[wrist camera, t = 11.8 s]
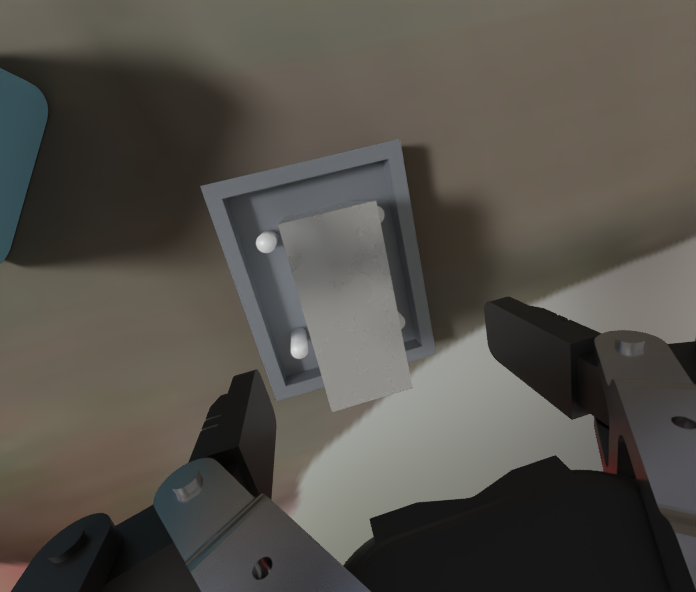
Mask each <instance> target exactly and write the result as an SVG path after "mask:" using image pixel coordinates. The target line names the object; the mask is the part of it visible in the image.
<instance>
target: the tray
mask: <svg viewBox="0 0 696 592" xmlns="http://www.w3.org/2000/svg"><path fill="white" fill-rule="evenodd" d="M200 187H201V190H202V193H203V196H204V199H205V201H206V204H207V207H208V210H209V213H210V215H211V218H212V221H213V224H214V227H215V229H216V232H217V235H218V238H219V241H220V244H221V246H222V249H223V252H224V255H225V258H226V260H227V263H228V266H229V269H230V272H231V274H232V277H233V280H234V283H235V286H236V289H237V291H238V294H239V297H240V300H241V303H242V305H243V308H244V311H245V314H246V317H247V319H248V322H249V325H250V328H251V331H252V334H253V336H254V339H255V342H256V345H257V348H258V350H259V353H260V356H261V359H262V362H263V364H264V367H265V370H266V373H267V376H268V378H269V381H270V384H271V387H272V390H273V393H274V395H275V398H276V401H279V400H283V399H286V398H289V397H293V396H296V395H299V394H303V393H306V392H309V391H313V390H316V389H319V388H323V387H325V386H324V383H323V379H322V376H321V372H320V369H319V365H318V362H317V358H316V355H315V351H314V348H313V345H312V341H311V338H310V334H309V331H308V327H307V324H306V320H305V317H304V313H303V310H302V306H301V303H300V300H299V296H298V293H297V289H296V286H295V282H294V279H293V275H292V272H291V268H290V265H289V261H288V258H287V255H286V251H285V248H284V244H283V241H282V237H281V234H280V230H279V227H278V223H279V222H280V221H281V219H282V218H283V217H284V216H287V215H291V214H295V213H299V212H304V211H308V210H312V209H316V208H320V207H324V206H328V205H332V204H337V203H341V202H345V201H372V200H376V202H377V207H378V213H379V218H380V223H381V228H382V233H383V238H384V244H385V249H386V254H387V259H388V264H389V269H390V275H391V280H392V285H393V290H394V295H395V301H396V306H397V311H398V316H399V321H400V326H401V332H402V337H403V342H404V347H405V352H406V357H407V362H410V361H413V360H417V359H420V358H423V357H427V356H430V355H434V354H436V350H435V344H434V338H433V332H432V326H431V320H430V314H429V308H428V302H427V296H426V290H425V284H424V278H423V273H422V267H421V261H420V255H419V249H418V243H417V237H416V231H415V225H414V219H413V213H412V207H411V201H410V195H409V189H408V183H407V178H406V172H405V166H404V160H403V154H402V148H401V142H400V139H398V140H393V141H389V142H385V143H381V144H376V145H372V146H368V147H364V148H359V149H355V150H351V151H347V152H343V153H338V154H334V155H330V156H326V157H321V158H317V159H313V160H309V161H305V162H300V163H296V164H292V165H288V166H283V167H279V168H275V169H271V170H266V171H262V172H258V173H254V174H250V175H245V176H241V177H237V178H233V179H228V180H224V181H220V182H216V183H212V184H207V185H203V186H200Z"/></svg>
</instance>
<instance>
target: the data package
mask: <svg viewBox="0 0 696 592" xmlns="http://www.w3.org/2000/svg"><path fill="white" fill-rule="evenodd" d="M47 118H48V105H47V101H46V99H45V97H44V95H43V93H42V92H41V91H40V90H39V88H37V87H36V86H35V85H33V84H32V83H30V82H28V81H26V80H24V79H22V78H20V77H18V76H16V75H14V74H11V73H9V72H7V71H5V70H3V69H1V68H0V264H1V263H2V262H3V261H4V259H5V258H6V257H7V255H8V253H9V251H10V248H11V245H12V242H13V238H14V235H15V231H16V227H17V224H18V220H19V217H20V213H21V210H22V206H23V203H24V199H25V196H26V192H27V189H28V185H29V182H30V178H31V175H32V171H33V168H34V164H35V161H36V157H37V154H38V150H39V147H40V143H41V140H42V136H43V133H44V129H45V126H46V122H47Z"/></svg>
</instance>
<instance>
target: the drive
mask: <svg viewBox="0 0 696 592" xmlns="http://www.w3.org/2000/svg"><path fill="white" fill-rule="evenodd" d="M278 227H279V230H280V234H281V237H282V241H283V244H284V248H285V251H286V255H287V258H288V261H289V265H290V268H291V272H292V275H293V279H294V282H295V286H296V289H297V293H298V296H299V300H300V303H301V306H302V310H303V313H304V317H305V320H306V324H307V327H308V331H309V334H310V338H311V341H312V345H313V348H314V351H315V355H316V358H317V362H318V365H319V369H320V372H321V376H322V379H323V383H324V386H325V389H326V393H327V396H328V400H329V403H330V407H331V410H332V412H334V411H338V410H341V409H344V408H348V407H351V406H354V405H358V404H361V403H364V402H368V401H371V400H374V399H378V398H381V397H384V396H388V395H391V394H394V393H398V392H401V391H404V390H408V389H411V388H412V383H411V378H410V373H409V368H408V363H407V357H406V352H405V347H404V342H403V337H402V332H401V326H400V321H399V316H398V311H397V306H396V301H395V295H394V290H393V285H392V280H391V275H390V269H389V264H388V259H387V254H386V249H385V244H384V238H383V233H382V228H381V223H380V218H379V213H378V207H377V202H376V200H372V201H345V202H341V203H337V204H332V205H328V206H324V207H320V208H316V209H312V210H308V211H304V212H299V213H295V214H291V215H287V216H284V217H283V218H282V219H281V221H280V222H279V223H278Z"/></svg>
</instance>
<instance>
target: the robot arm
mask: <svg viewBox="0 0 696 592" xmlns="http://www.w3.org/2000/svg"><path fill="white" fill-rule="evenodd" d="M484 313H485V322H486V331H487V340H488V346H489V349H490V352H491V353H492V355H493V357H494V358H495V359H496V360H497V361H498V362H499V363H501V364H502V365H503V366H504V367H506V368H507V369H508V370H510V371H511V372H512V373H513V374H515V375H516V376H517V377H519V378H520V379H521V380H522V381H523V382H525V383H526V384H527V385H528V386H530V387H531V388H533V389H534V390H535V391H536V392H538V393H539V394H540V395H541V396H543V397H544V398H545V399H546V400H548V401H549V402H550V403H551V404H553V405H554V406H555V407H557V408H558V409H559V410H560V411H562V412H563V413H564V414H565V415H567V416H568V417H569V418H570V419H572V420H573V419H576V418H579V417H582V416H584V415H588V414H592V415H593V416H594V429H595V435H596V439H597V443H598V449H599V453H600V458H601V462H602V467H603V472H602V471H592V470H570V469H569V468H568V467H567V466H566V465H565V464H564V463H563V462H562V461H561V460H560V459H559V458H558V457H557V456H552V457H549V458H546V459H543V460H540V461H537V462H535V463H532V464H529V465H526V466H523V467H520V468H517V469H514V470H511V471H510V472H508V473H507V474H506V475H504V476H503V477H502V478H500V479H498V480H497V481H496V482H494V483H493V484H492V485H490V486H489V487H487V488H486V489H484V490H483V491H482V492H480V493H479V494H477V495H475V496H474V497H471V498H466V499H455V500H443V501H431V502H418V503H414V504H411V505H409V506H406V507H403V508H400V509H397V510H394V511H391V512H388V513H385V514H382V515H379V516H376V517H373V518H371V519H370V523H371V527H372V531H373V535H374V537H373V538H372V539H370V540H368V541H367V542H366V543H364V544H363V545H362V546H361V547H360V548H359V549H358V550H356V551H355V552H354V553H353V555H352V556H351V557H350V558H349V559H348V560H347V561H346V562H345V564H344V565H341V564H340V563H339V562H338V561H337V560H336V559H335V558H334V557H333V556H332V555H331V554H330V553H328V552H327V551H326V550H325V549H324V548H323V547H322V546H320V544H319V543H318V542H316V541H315V540H314V539H313V538H312V537H311V536H310V535H309V534H308V533H307V532H305V530H303V529H302V528H301V527H300V526H299V525H298V524H297V523H296V522H295V521H294V520H293V519H291V518H290V517H289V516H288V515H287V514H286V513H285V512H284V511H283V510H282V509H281V508H280V507H278V506H277V505H276V504H275V503H274V502H273V501H272V500H271V497H272V483H273V468H274V454H275V440H276V418H275V414H274V410H273V407H272V404H271V401H270V399H269V396H268V393H267V391H266V388H265V385H264V383H263V380H262V377H261V375H260V373H259V371H258V370H253V371H250V372H246V373H243V374H239V375H236V376H234V377H233V379H232V382H231V385H230V388H229V391H228V394H224V395H221V396H220V397H219V398H218V399H217V400H216V401H215V403H214V404H213V405H212V406H211V407H210V409H209V412H208V414H207V417H206V421H205V422H204V424H203V427H202V431H201V432H200V435H199V437H198V440H197V442H196V445H195V447H194V450H193V452H192V455H191V457H190V460H189V463H187V464H185V465H183V466H182V467H180V468H179V469H177V470H176V471H175V472H173V473H172V474H171V475H170V476H169V477H168V478H167V479H166V480H165V481H164V482H163V483H162V485H161V486H160V487H159V489H158V491H157V492H156V495H155V497H154V504H153V505H152V506H150V507H148V508H147V509H145V510H143V511H141V512H140V513H138V514H136V515H134V516H132V517H131V518H129V519H127V520H125V521H123V522H122V523H120V524H118V525H116V526H115V525H114V523H113V522H112V520H111V519H110V517H109V516H108V515H107V514H104V513H97V514H92V515H89V516H86V517H84V518H82V519H80V520H78V521H76V522H74V523H72V524H71V525H69V526H68V527H66V528H65V529H63V530H62V531H61V532H59V533H58V534H57V535H56V536H54V537H53V538H52V539H51V540H50V541H49V542H48V543H47V544H46V545H45V546H44V547H43V548H42V549H41V550H40V551H39V552H38V553H37V554H36V556H35V557H34V558H33V560H32V561H31V562H30V564H29V565H28V567H27V568H26V570H25V571H24V573H23V574H22V576H21V577H20V579H19V580H18V582H17V583H16V585H15V586H14V588H13V589H12V591H11V592H696V340H695V341H694V342H684V343H674V344H667V343H665V342H664V341H663V340H662V339H660V338H658V337H656V336H653V335H650V334H647V333H643V332H637V331H626V330H620V331H619V330H618V331H609V332H605V333H602V334H601V333H599V332H597V331H595V330H592V329H590V328H588V327H585V326H583V325H581V324H578V323H576V322H574V321H572V320H568V319H567V318H565V317H562V316H560V315H558V316H557V314H556V313H553V312H551V311H549V310H546V309H544V308H539V307H534V306H529V305H527V304H524V303H522V302H520V301H518V300H515V299H513V298H511V297H504V298H501V299H497V300H494V301H491V302H487V303H486V304H485V307H484Z"/></svg>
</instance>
